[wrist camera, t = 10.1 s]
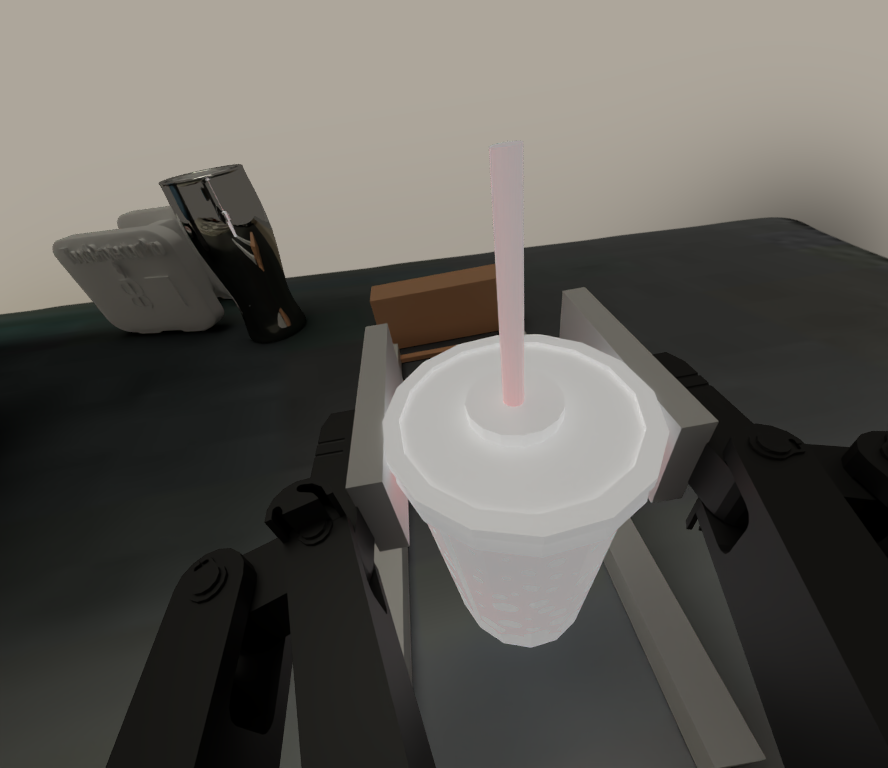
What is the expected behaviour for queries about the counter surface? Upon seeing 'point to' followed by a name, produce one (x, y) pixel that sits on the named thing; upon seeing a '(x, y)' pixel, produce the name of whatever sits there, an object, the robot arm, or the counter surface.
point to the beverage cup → (523, 451)
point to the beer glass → (236, 247)
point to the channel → (627, 560)
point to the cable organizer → (144, 274)
